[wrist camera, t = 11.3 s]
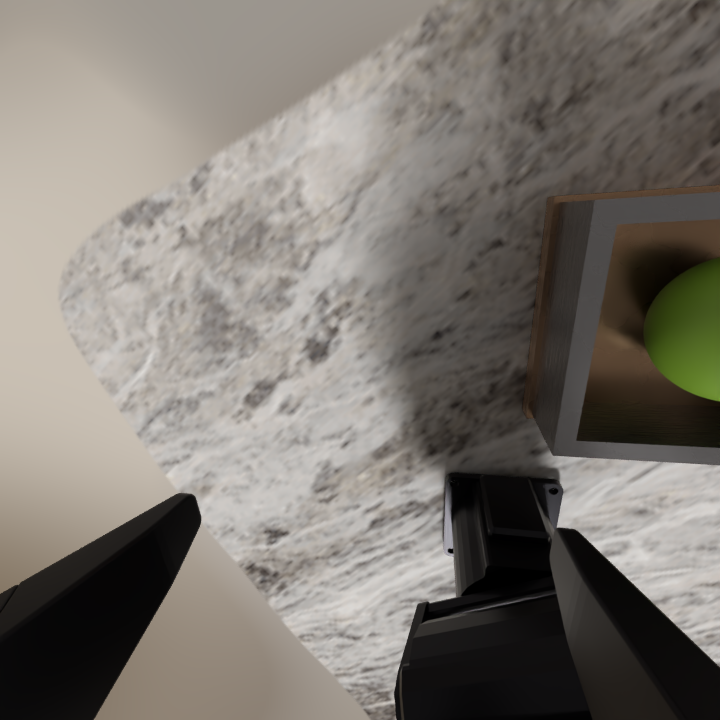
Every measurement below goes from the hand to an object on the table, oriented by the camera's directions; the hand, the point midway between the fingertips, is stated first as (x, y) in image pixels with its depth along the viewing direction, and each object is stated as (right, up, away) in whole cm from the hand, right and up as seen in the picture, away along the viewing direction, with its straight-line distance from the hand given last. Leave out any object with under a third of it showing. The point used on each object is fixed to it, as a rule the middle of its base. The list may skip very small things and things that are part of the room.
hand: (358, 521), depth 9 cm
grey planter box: (+14, +6, +8) cm, 17 cm away
